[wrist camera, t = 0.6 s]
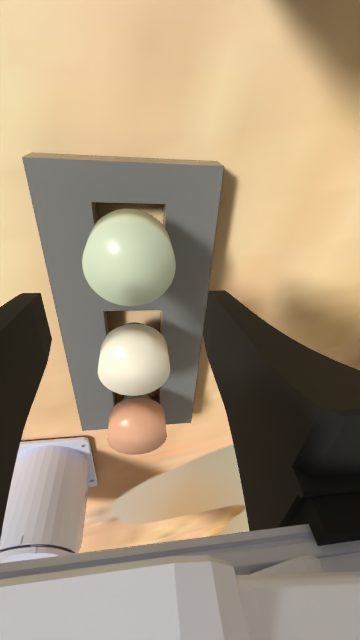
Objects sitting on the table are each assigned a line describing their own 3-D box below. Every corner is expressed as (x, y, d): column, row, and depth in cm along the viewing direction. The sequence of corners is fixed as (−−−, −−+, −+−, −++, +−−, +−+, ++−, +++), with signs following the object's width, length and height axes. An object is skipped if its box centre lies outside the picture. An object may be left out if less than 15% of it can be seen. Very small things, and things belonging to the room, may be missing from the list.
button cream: (164, 357, 23) (168, 393, 20) (105, 360, 22) (101, 397, 19) (166, 309, 20) (171, 343, 17) (99, 311, 20) (93, 345, 17)
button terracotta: (162, 415, 27) (165, 451, 24) (112, 418, 26) (109, 456, 23) (163, 381, 24) (167, 417, 21) (108, 384, 24) (104, 422, 21)
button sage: (167, 275, 19) (173, 305, 16) (95, 275, 18) (88, 307, 15) (170, 201, 16) (177, 222, 13) (86, 199, 16) (75, 220, 13)
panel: (188, 408, 30) (191, 422, 28) (84, 415, 28) (82, 430, 27) (217, 161, 17) (223, 166, 16) (31, 152, 16) (22, 157, 14)
